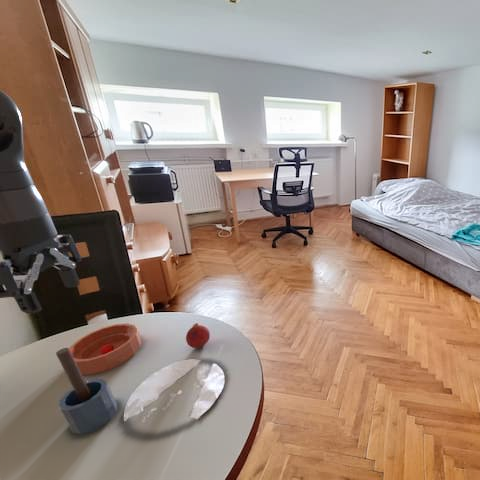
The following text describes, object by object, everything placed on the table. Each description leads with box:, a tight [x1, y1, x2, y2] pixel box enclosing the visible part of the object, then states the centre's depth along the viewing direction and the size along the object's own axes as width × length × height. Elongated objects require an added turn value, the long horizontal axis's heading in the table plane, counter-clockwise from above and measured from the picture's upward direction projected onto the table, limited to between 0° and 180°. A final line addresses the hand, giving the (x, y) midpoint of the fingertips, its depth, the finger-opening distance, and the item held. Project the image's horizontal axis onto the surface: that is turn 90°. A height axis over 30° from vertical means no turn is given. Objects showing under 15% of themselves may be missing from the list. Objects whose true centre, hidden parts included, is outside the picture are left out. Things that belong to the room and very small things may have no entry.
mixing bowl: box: [68, 323, 143, 376], centre depth 78 cm, size 15×15×5 cm
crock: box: [57, 378, 118, 435], centre depth 60 cm, size 7×8×8 cm
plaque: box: [123, 358, 226, 423], centre depth 67 cm, size 20×20×2 cm
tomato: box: [101, 344, 114, 355], centre depth 78 cm, size 3×3×3 cm
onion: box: [185, 322, 211, 349], centre depth 80 cm, size 6×6×8 cm
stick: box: [55, 347, 92, 403], centre depth 58 cm, size 2×2×18 cm
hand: (54, 298), depth 54 cm, fingers open, 8 cm apart
